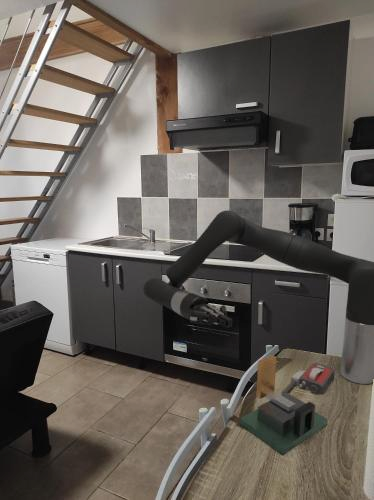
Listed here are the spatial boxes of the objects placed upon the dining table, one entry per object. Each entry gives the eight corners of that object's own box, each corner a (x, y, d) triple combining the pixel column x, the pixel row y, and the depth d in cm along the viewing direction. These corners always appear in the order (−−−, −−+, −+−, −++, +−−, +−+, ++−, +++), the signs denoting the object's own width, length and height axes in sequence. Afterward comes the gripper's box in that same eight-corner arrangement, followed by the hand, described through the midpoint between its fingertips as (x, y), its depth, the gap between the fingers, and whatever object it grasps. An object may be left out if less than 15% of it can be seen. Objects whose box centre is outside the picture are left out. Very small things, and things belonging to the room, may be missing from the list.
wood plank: (270, 389, 89) (272, 355, 88) (298, 405, 83) (301, 368, 81) (256, 396, 86) (258, 360, 85) (284, 413, 80) (287, 375, 78)
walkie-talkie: (306, 367, 111) (278, 397, 95) (307, 354, 110) (279, 381, 94) (336, 377, 105) (312, 410, 90) (337, 363, 105) (313, 393, 89)
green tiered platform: (284, 400, 93) (285, 374, 92) (326, 424, 84) (329, 396, 83) (239, 424, 84) (241, 395, 82) (282, 454, 74) (284, 423, 73)
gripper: (171, 296, 103) (211, 314, 90) (206, 289, 111) (249, 305, 98) (170, 322, 105) (210, 343, 91) (206, 313, 113) (247, 331, 99)
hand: (230, 323), depth 95 cm, fingers closed
